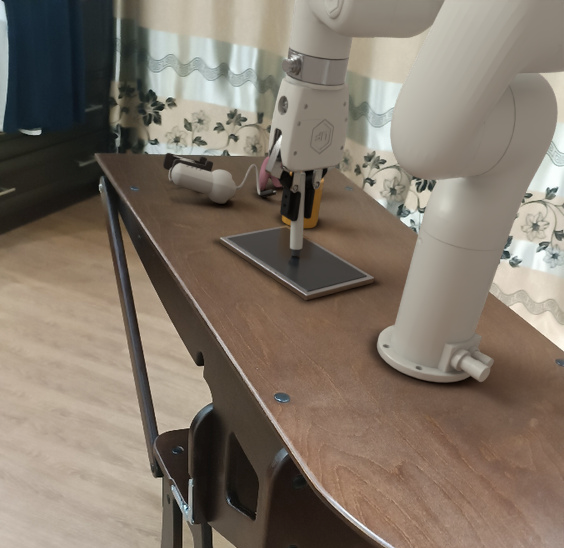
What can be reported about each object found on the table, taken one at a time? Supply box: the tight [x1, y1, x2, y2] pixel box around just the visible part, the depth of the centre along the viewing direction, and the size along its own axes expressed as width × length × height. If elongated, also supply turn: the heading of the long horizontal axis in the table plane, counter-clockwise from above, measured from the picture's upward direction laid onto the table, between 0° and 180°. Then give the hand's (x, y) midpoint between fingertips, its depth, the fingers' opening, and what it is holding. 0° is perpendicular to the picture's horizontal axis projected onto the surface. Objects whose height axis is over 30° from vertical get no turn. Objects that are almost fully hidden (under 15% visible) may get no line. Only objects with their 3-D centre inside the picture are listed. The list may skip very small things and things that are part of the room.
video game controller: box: [258, 155, 291, 192], centre depth 125 cm, size 10×5×7 cm, turn 84°
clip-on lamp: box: [162, 152, 278, 205], centre depth 119 cm, size 12×6×18 cm
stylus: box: [290, 172, 305, 256], centre depth 101 cm, size 2×2×11 cm
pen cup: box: [281, 171, 325, 229], centre depth 114 cm, size 6×6×7 cm
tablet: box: [219, 224, 375, 301], centre depth 104 cm, size 20×13×1 cm, turn 39°
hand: (295, 215), depth 101 cm, fingers closed on stylus, 1 cm apart
